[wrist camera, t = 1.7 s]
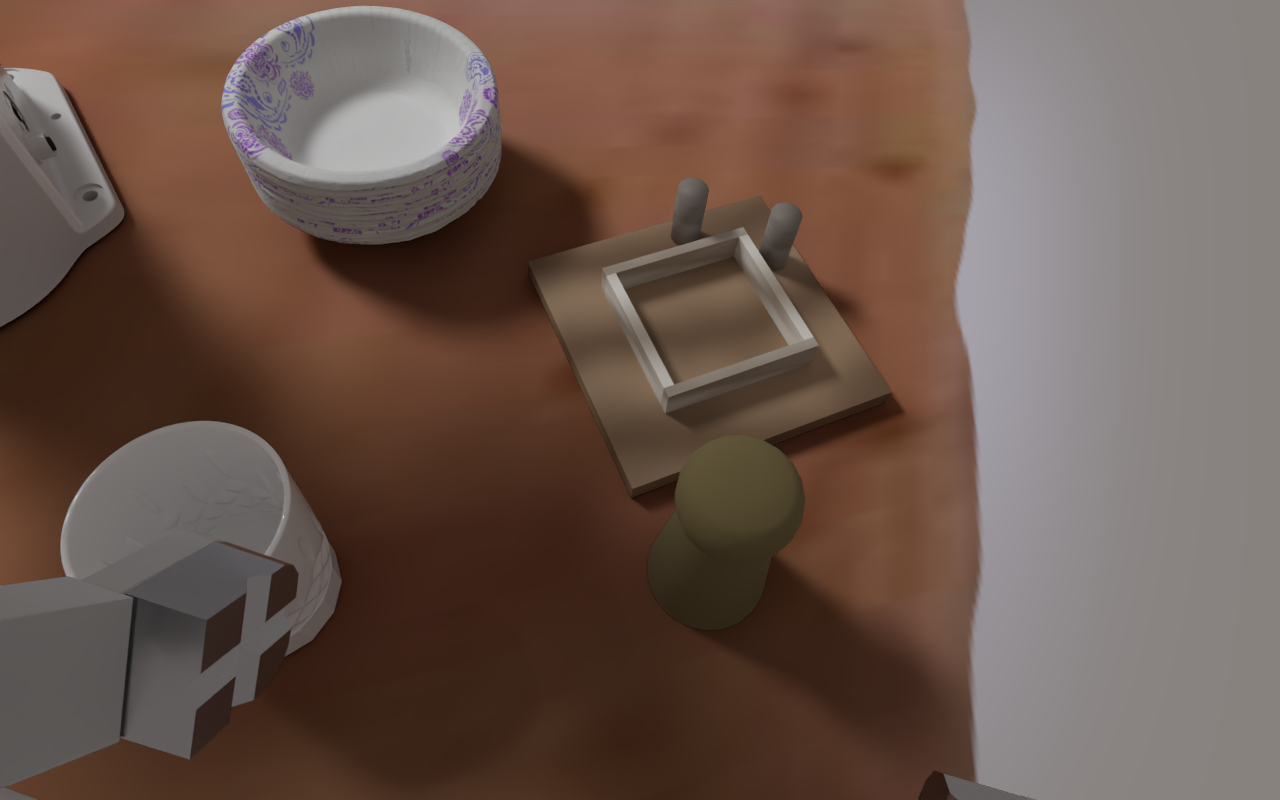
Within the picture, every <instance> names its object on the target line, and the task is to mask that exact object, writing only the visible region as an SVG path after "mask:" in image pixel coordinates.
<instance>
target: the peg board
mask: <svg viewBox="0 0 1280 800" xmlns="http://www.w3.org/2000/svg"><path fill="white" fill-rule="evenodd" d="M708 192H709V189H708V186H707V185H706V184H705V183H704V182H703V181H701V180H699V179H696V178H688V179H685V180H683V181H681V182H680V183H679V185H678V190H677V197H676V204H675V210H674V217H673V221H669V222H666V223H662V224H658V225H655V226H651V227H648V228H644V229H641V230H637V231H634V232H630V233H626V234H623V235H619V236H616V237H612V238H609V239H605V240H602V241H598V242H595V243H591V244H587V245H584V246H580V247H577V248H573V249H570V250H566V251H563V252H559V253H555V254H552V255H548V256H545V257H541V258H538V259H534V260H531V261H528V271H529V276H530V278H531V280H532V282H533V284H534V287H535V289H536V291H537V293H538V295H539V298H540V300H541V302H542V304H543V306H544V309H545V311H546V313H547V315H548V317H549V320H550V322H551V324H552V326H553V328H554V330H555V333H556V335H557V337H558V339H559V341H560V344H561V346H562V348H563V350H564V352H565V355H566V357H567V359H568V361H569V363H570V366H571V368H572V370H573V372H574V374H575V376H576V379H577V381H578V383H579V385H580V387H581V390H582V392H583V394H584V396H585V398H586V401H587V403H588V405H589V407H590V409H591V412H592V414H593V416H594V418H595V420H596V422H597V425H598V427H599V429H600V431H601V433H602V436H603V438H604V440H605V442H606V444H607V447H608V449H609V451H610V453H611V455H612V458H613V460H614V462H615V464H616V466H617V469H618V471H619V473H620V475H621V477H622V479H623V482H624V484H625V486H626V488H627V490H628V493H629V495H630V497H631V498H633V497H635V496H638V495H641V494H643V493H646V492H649V491H651V490H654V489H657V488H659V487H662V486H665V485H667V484H670V483H673V482H675V481H678V478H679V474H680V470H681V469H682V467H683V466H684V464H685V463H686V462H687V460H688V459H689V457H690V456H691V455H692V454H693V453H694V452H695V451H696V450H698V449H699V448H700V447H702V446H703V445H704V444H706V443H707V442H708V441H711V440H714V439H717V438H720V437H723V436H733V435H745V436H749V437H753V438H757V439H761V440H764V441H766V442H767V443H769V444H771V445H774V444H776V443H779V442H781V441H784V440H787V439H789V438H792V437H795V436H797V435H800V434H803V433H805V432H808V431H811V430H813V429H816V428H819V427H821V426H824V425H827V424H829V423H832V422H835V421H837V420H840V419H843V418H845V417H848V416H851V415H853V414H856V413H858V412H861V411H864V410H866V409H869V408H872V407H874V406H877V405H880V404H882V403H885V401H886V400H887V398H888V397H889V396H890V394H891V393H892V392H891V390H890V389H889V387H888V386H887V384H886V383H885V381H884V380H883V378H882V377H881V375H880V374H879V372H878V371H877V369H876V368H875V366H874V365H873V363H872V362H871V360H870V359H869V357H868V356H867V354H866V353H865V351H864V350H863V348H862V347H861V345H860V344H859V342H858V341H857V339H856V338H855V336H854V335H853V333H852V332H851V330H850V329H849V327H848V326H847V325H846V323H845V322H844V320H843V319H842V317H841V316H840V314H839V313H838V311H837V310H836V308H835V307H834V305H833V304H832V302H831V301H830V299H829V298H828V296H827V295H826V293H825V292H824V290H823V289H822V287H821V286H820V284H819V283H818V281H817V280H816V278H815V277H814V275H813V274H812V272H811V271H810V269H809V268H808V266H807V265H806V263H805V262H804V260H803V259H802V257H801V256H800V254H799V253H798V251H797V250H796V249H795V247H794V246H793V242H794V239H795V236H796V234H797V231H798V228H799V225H800V222H801V220H802V213H801V211H800V210H799V208H798V207H796V206H795V205H793V204H790V203H779V204H777V205H775V206H774V207H773V208H772V210H771V211H770V210H769V208H768V207H767V205H766V204H765V202H764V201H763V199H762V198H761V196H758V197H754V198H751V199H747V200H744V201H740V202H737V203H733V204H729V205H726V206H722V207H719V208H715V209H712V210H708V211H705V207H706V202H707V197H708Z"/></svg>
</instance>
